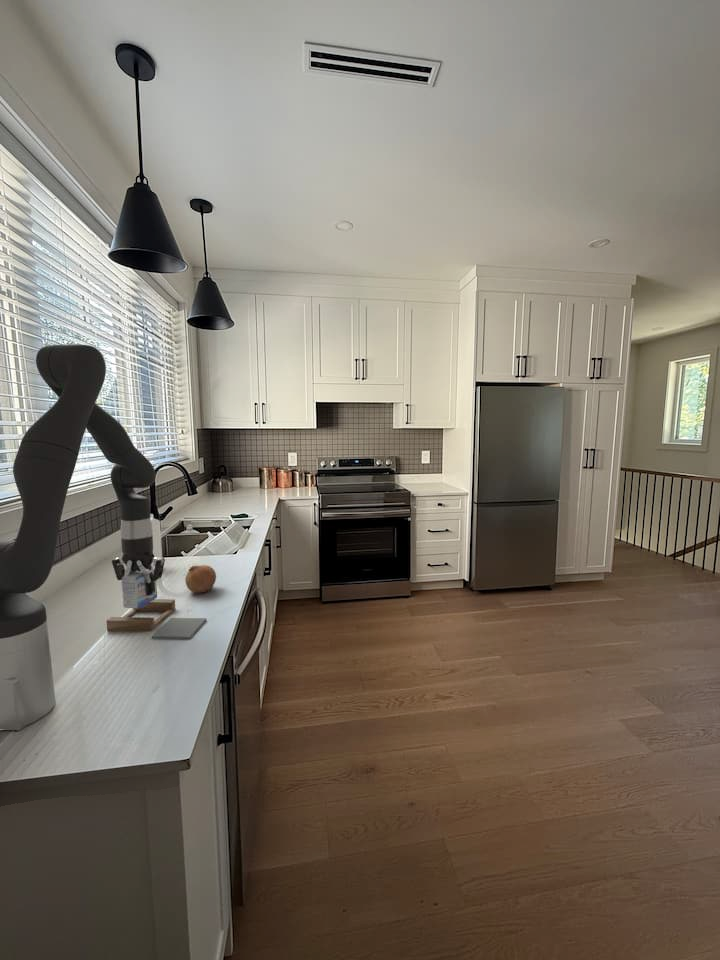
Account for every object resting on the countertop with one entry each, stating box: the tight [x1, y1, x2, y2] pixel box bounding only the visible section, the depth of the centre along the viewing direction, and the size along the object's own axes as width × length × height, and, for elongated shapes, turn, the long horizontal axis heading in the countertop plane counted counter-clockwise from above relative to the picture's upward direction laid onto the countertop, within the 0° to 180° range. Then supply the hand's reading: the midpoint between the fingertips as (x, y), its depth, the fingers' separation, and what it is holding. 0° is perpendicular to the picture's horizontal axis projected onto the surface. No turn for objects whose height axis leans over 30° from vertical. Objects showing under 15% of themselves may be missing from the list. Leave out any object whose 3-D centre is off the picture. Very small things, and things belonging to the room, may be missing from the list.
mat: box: [150, 617, 207, 640], centre depth 105 cm, size 10×10×1 cm
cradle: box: [106, 598, 176, 633], centre depth 110 cm, size 13×12×3 cm
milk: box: [150, 513, 163, 569], centre depth 149 cm, size 6×6×22 cm
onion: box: [184, 564, 217, 594], centre depth 130 cm, size 10×9×10 cm
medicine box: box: [121, 569, 158, 609], centre depth 109 cm, size 8×4×9 cm, turn 169°
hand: (140, 594), depth 109 cm, fingers closed on medicine box, 5 cm apart
